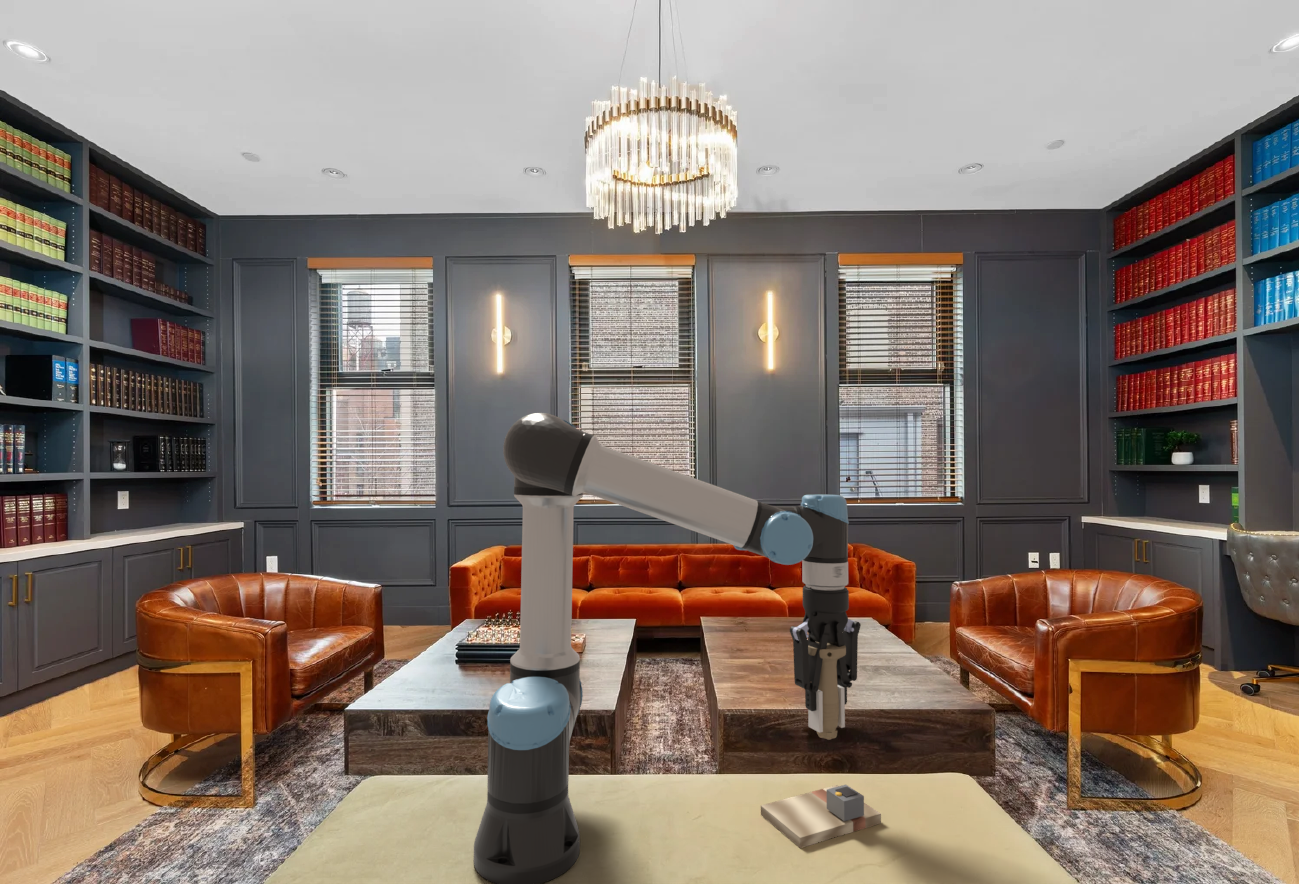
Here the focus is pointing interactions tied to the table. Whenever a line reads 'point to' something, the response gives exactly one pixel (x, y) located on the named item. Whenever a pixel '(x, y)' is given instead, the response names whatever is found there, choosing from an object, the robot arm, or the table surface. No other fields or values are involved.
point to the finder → (845, 802)
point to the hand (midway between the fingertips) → (826, 726)
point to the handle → (829, 687)
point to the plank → (813, 818)
